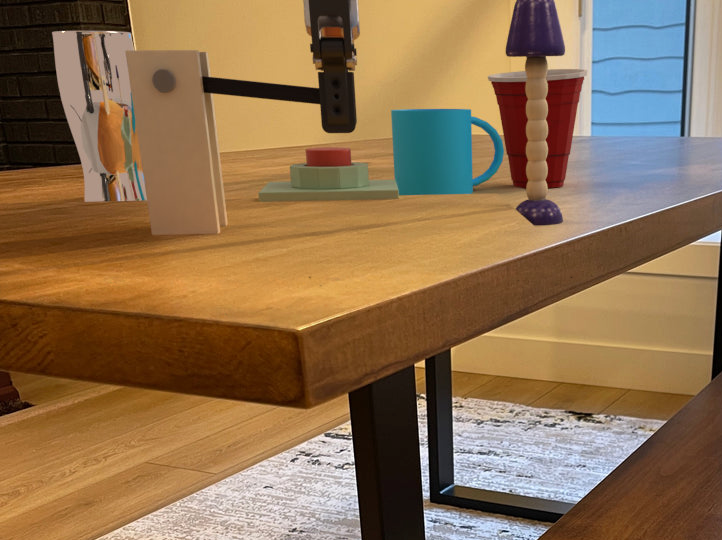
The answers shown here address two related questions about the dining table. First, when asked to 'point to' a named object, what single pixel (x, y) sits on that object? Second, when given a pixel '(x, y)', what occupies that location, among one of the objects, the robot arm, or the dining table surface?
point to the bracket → (177, 141)
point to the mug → (438, 151)
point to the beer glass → (101, 112)
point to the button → (328, 157)
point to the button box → (329, 185)
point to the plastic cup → (559, 119)
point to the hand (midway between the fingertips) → (340, 129)
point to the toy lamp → (536, 97)
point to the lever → (261, 90)
